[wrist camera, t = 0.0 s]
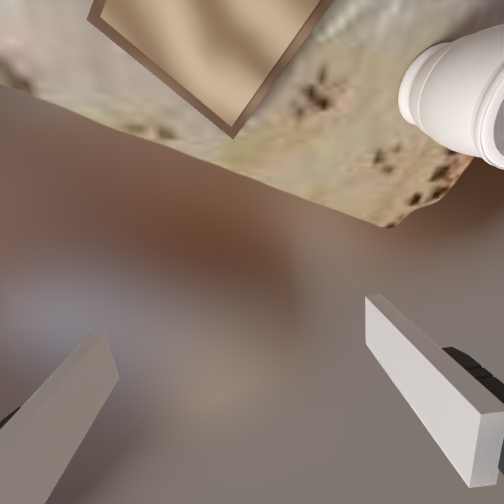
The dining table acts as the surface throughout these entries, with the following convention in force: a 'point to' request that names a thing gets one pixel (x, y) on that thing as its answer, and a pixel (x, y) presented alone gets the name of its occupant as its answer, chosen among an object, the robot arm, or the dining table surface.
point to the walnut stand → (212, 47)
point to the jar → (460, 94)
